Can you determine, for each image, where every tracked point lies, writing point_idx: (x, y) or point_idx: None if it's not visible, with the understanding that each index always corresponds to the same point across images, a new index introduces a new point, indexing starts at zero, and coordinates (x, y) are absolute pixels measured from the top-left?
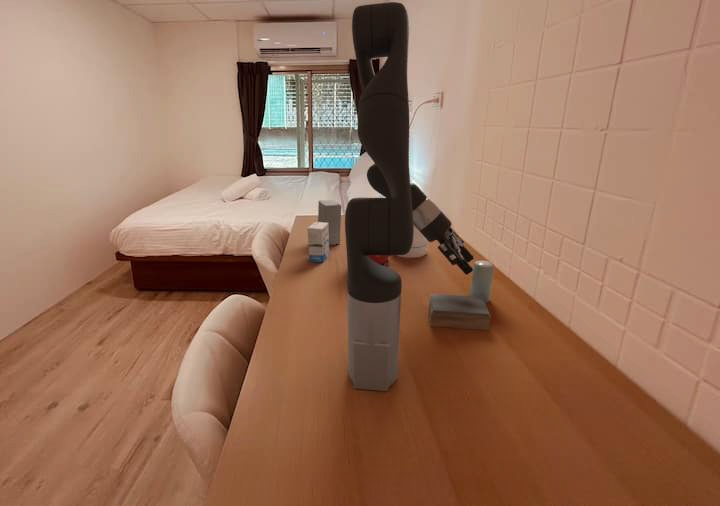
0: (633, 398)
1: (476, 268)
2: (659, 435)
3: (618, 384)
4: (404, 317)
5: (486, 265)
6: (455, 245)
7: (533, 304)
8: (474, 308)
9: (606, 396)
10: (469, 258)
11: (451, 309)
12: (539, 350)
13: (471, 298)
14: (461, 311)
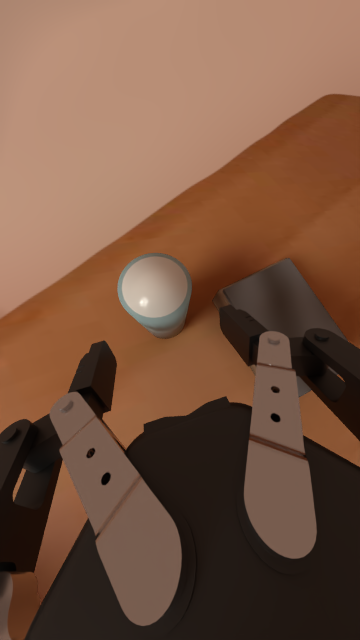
0: (298, 129)
1: (187, 305)
2: (336, 116)
3: (283, 138)
4: (338, 423)
5: (166, 273)
6: (299, 406)
7: (132, 233)
8: (288, 287)
9: (313, 146)
10: (108, 356)
11: (327, 326)
12: (274, 206)
13: (248, 307)
14: (320, 305)
